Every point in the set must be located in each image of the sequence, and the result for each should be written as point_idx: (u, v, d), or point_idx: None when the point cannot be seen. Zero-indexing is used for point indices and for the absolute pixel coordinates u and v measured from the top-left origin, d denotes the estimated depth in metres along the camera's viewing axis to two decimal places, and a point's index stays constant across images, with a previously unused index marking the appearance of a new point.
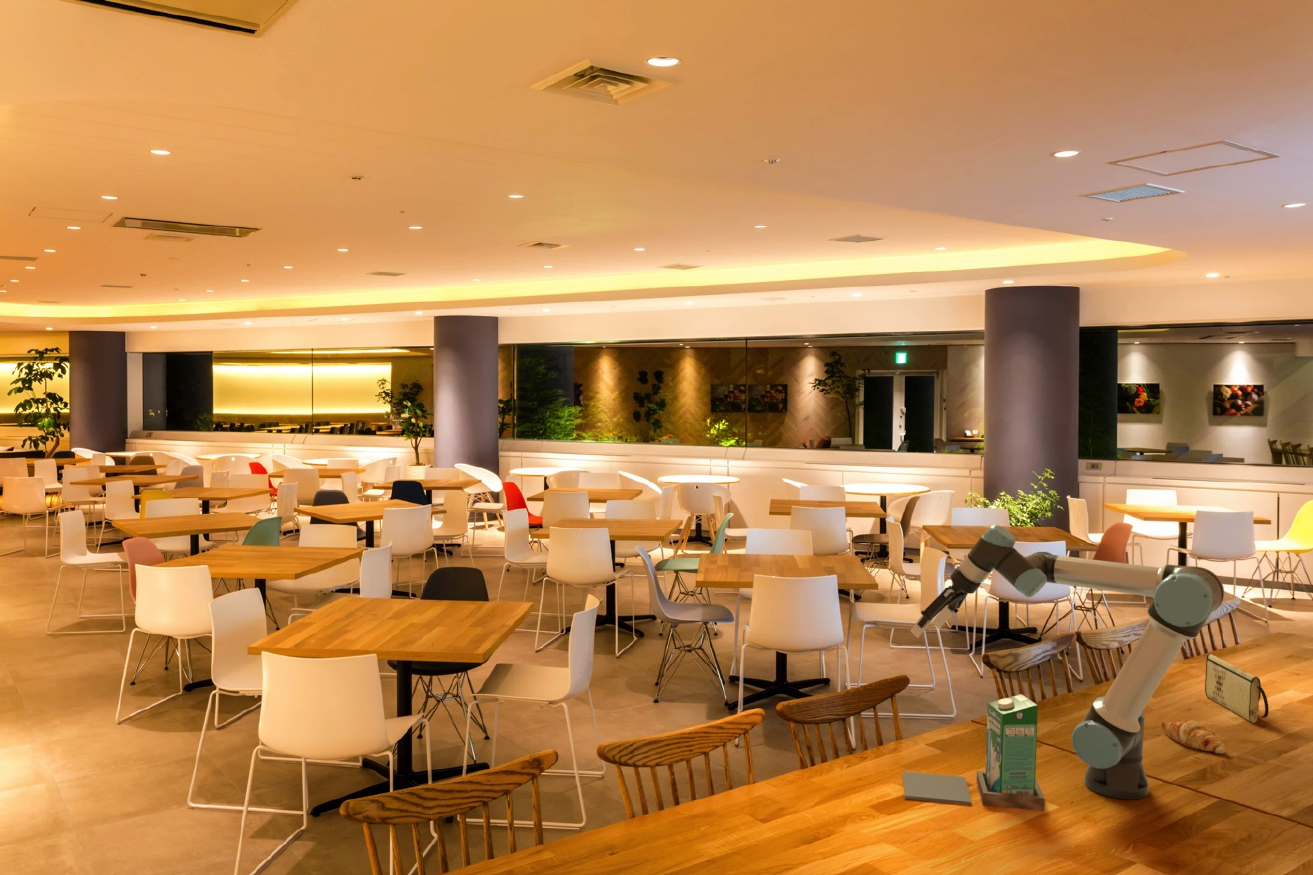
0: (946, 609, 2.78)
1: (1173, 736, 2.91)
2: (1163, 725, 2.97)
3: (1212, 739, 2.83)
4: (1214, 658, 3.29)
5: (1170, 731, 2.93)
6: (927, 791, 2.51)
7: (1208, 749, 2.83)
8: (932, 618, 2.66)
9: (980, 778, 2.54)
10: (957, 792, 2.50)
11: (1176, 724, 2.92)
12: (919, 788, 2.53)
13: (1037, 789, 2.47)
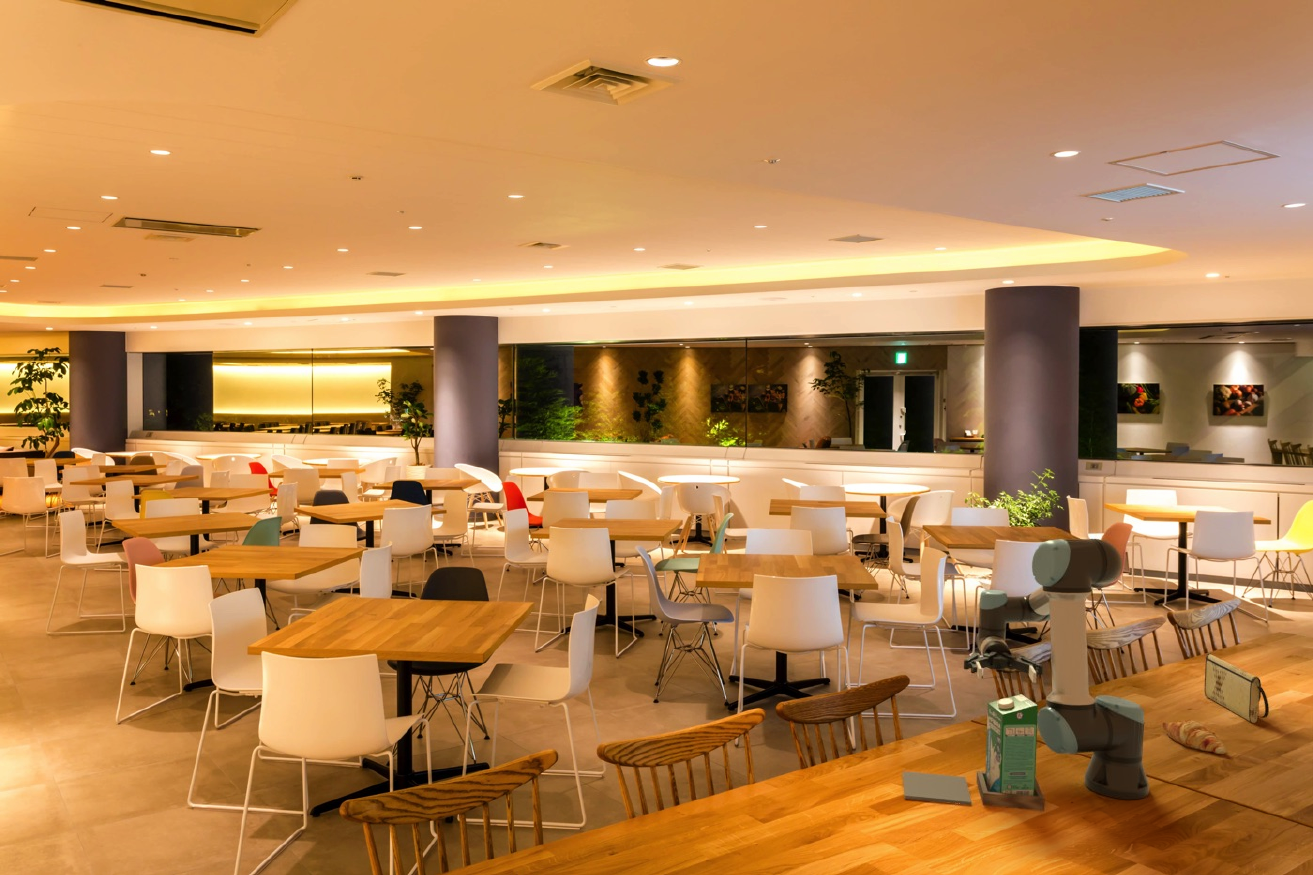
0: (1029, 672, 2.64)
1: (1173, 736, 2.91)
2: (1164, 725, 2.98)
3: (1212, 739, 2.83)
4: (1214, 658, 3.29)
5: (1171, 731, 2.93)
6: (927, 791, 2.51)
7: (1208, 749, 2.82)
8: (976, 661, 2.68)
9: (980, 778, 2.54)
10: (957, 792, 2.50)
11: (1177, 724, 2.93)
12: (919, 788, 2.53)
13: (1037, 789, 2.47)
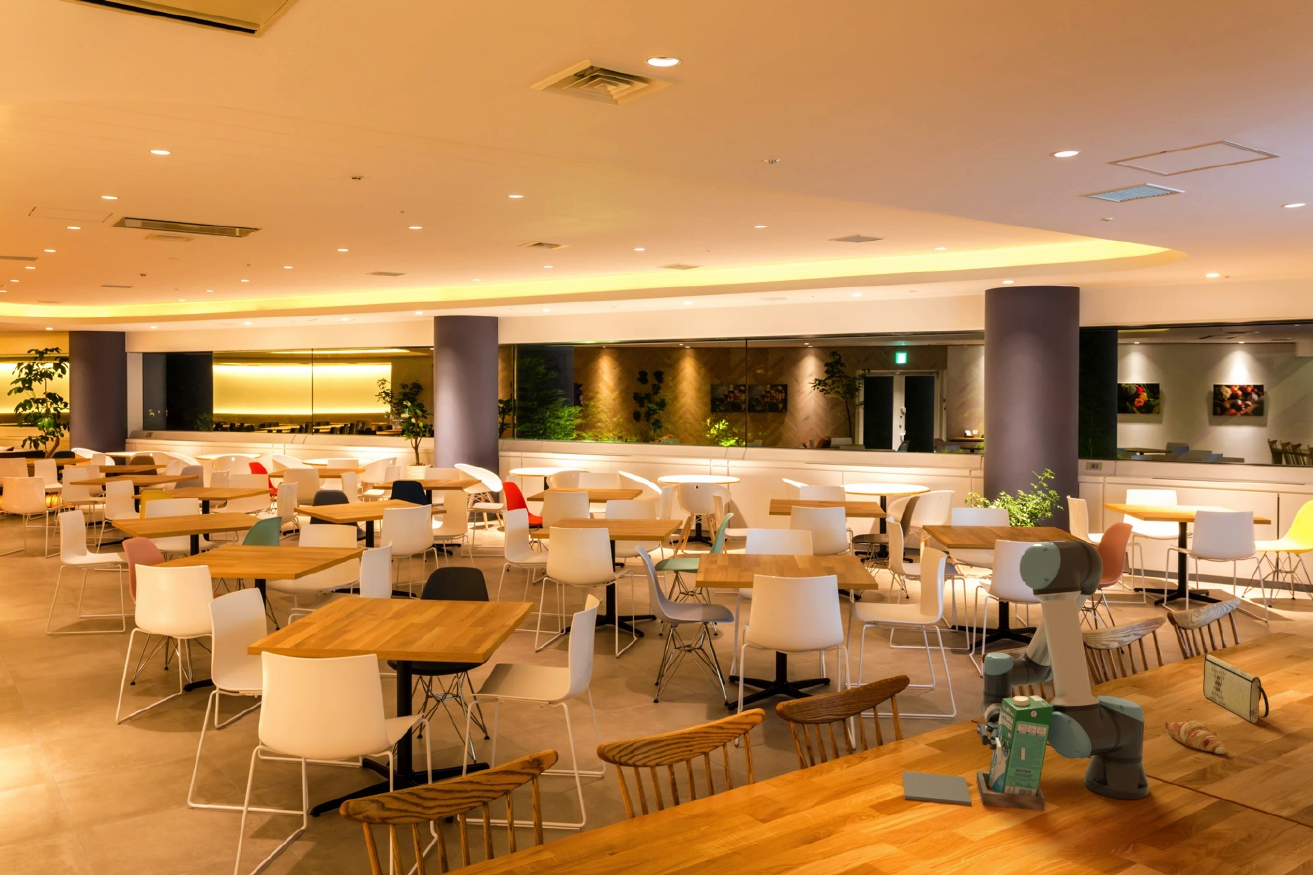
0: None
1: (1174, 736, 2.91)
2: (1166, 725, 2.98)
3: (1212, 739, 2.83)
4: (1212, 658, 3.29)
5: (1172, 731, 2.93)
6: (927, 791, 2.51)
7: (1208, 749, 2.82)
8: (995, 736, 2.53)
9: (980, 778, 2.54)
10: (957, 792, 2.50)
11: (1178, 724, 2.93)
12: (919, 788, 2.53)
13: None
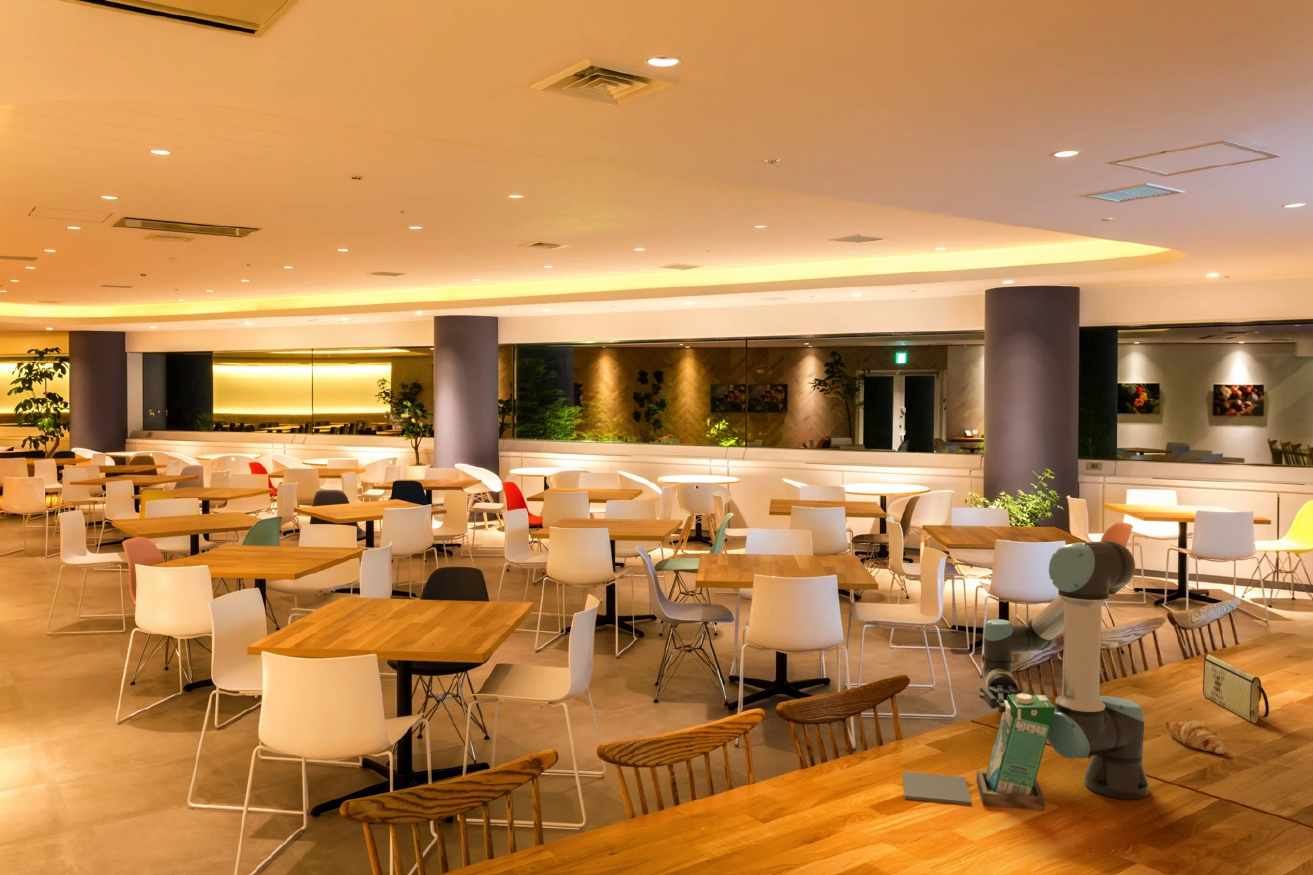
0: None
1: (1175, 735, 2.91)
2: (1167, 725, 2.98)
3: (1212, 739, 2.83)
4: (1212, 658, 3.29)
5: (1172, 730, 2.93)
6: (927, 791, 2.51)
7: (1208, 749, 2.82)
8: (1003, 699, 2.52)
9: (980, 778, 2.54)
10: (957, 792, 2.50)
11: (1179, 724, 2.93)
12: (919, 788, 2.53)
13: (1037, 789, 2.47)
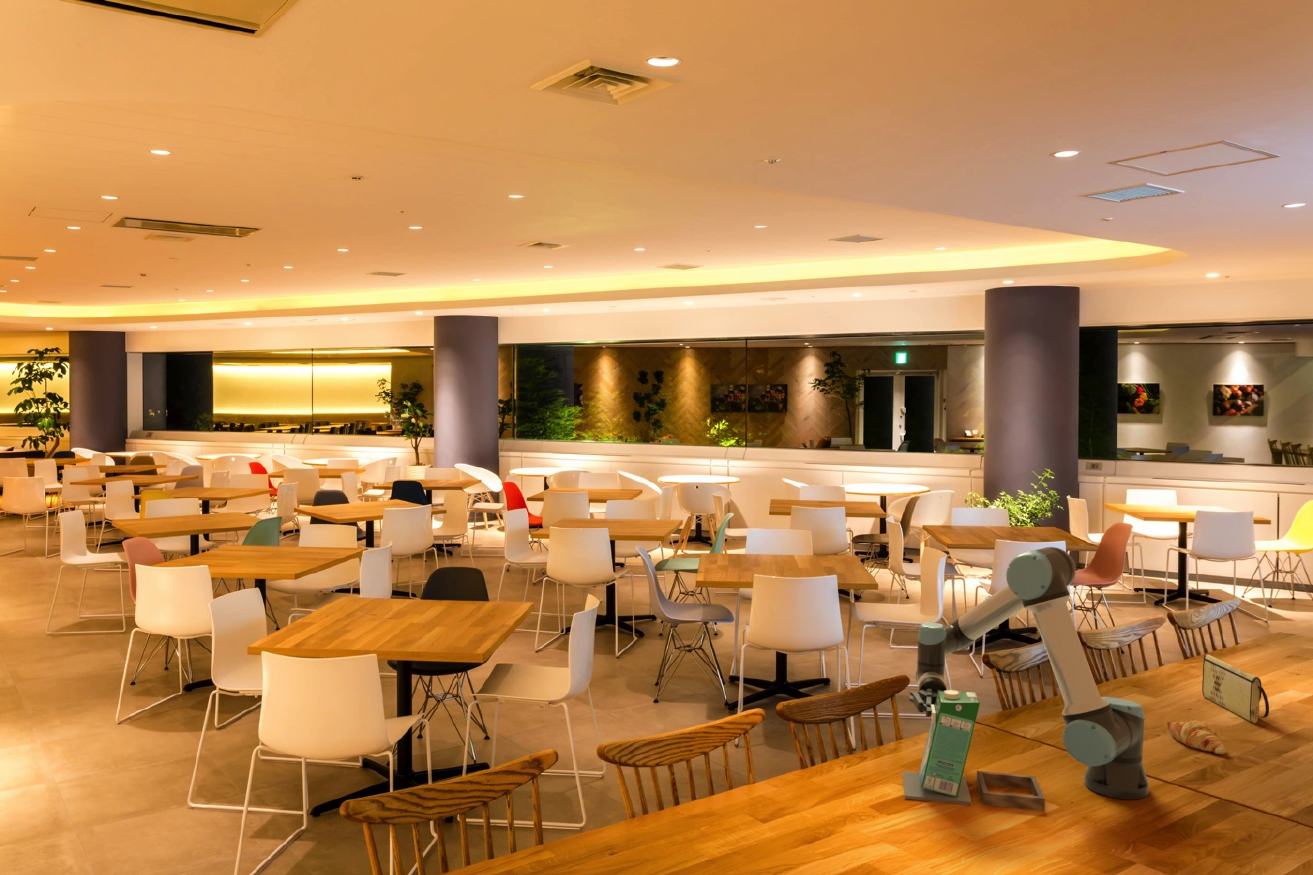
0: None
1: (1175, 735, 2.91)
2: (1168, 725, 2.98)
3: (1212, 739, 2.82)
4: (1212, 658, 3.28)
5: (1173, 730, 2.93)
6: (927, 791, 2.51)
7: (1208, 749, 2.82)
8: (930, 703, 2.56)
9: (980, 778, 2.54)
10: None
11: (1179, 724, 2.93)
12: (919, 788, 2.53)
13: (1037, 789, 2.47)
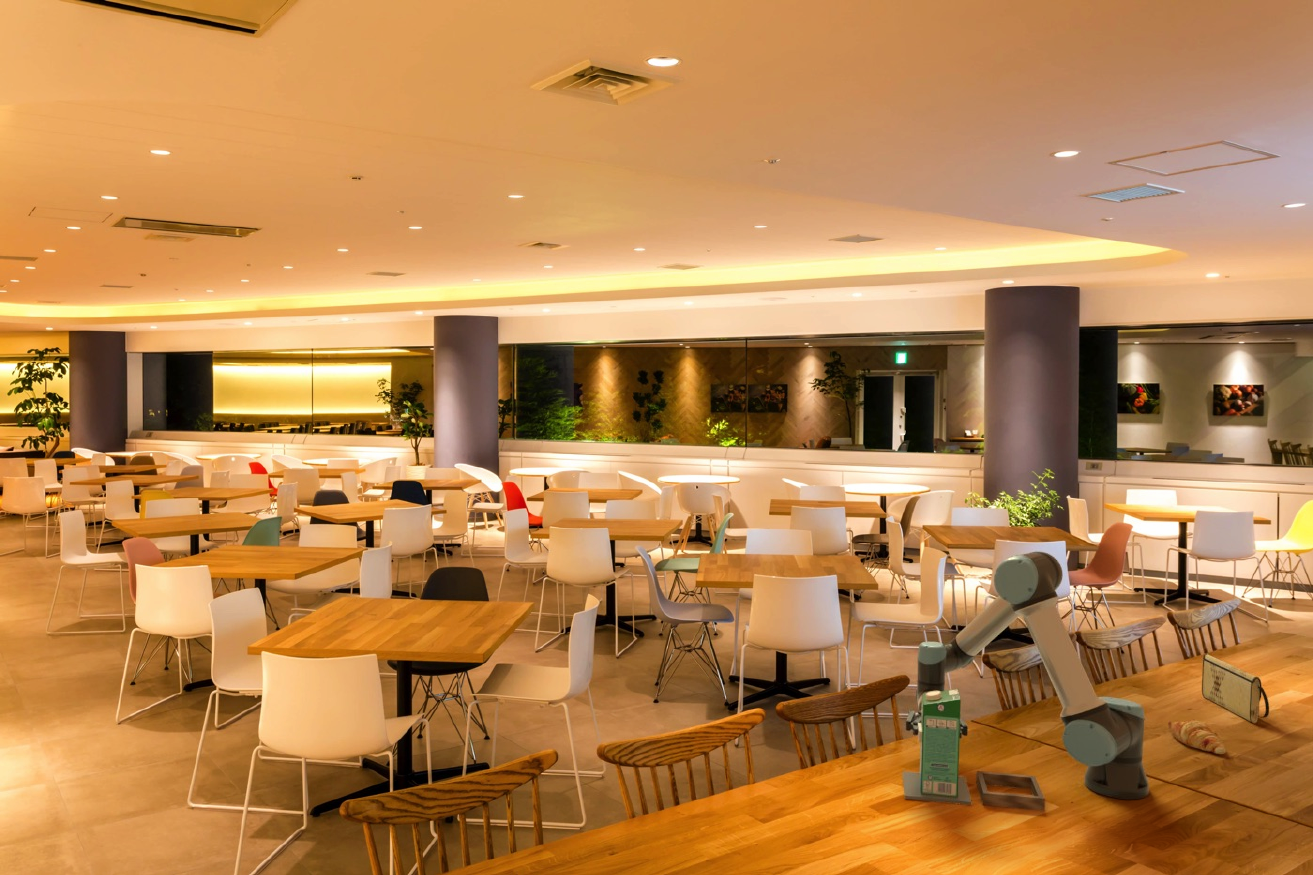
0: None
1: (1176, 735, 2.91)
2: (1169, 724, 2.98)
3: (1212, 739, 2.82)
4: (1211, 658, 3.28)
5: (1174, 730, 2.93)
6: None
7: (1208, 749, 2.82)
8: (918, 722, 2.57)
9: (980, 778, 2.54)
10: None
11: (1180, 724, 2.93)
12: (919, 788, 2.53)
13: (1037, 789, 2.47)
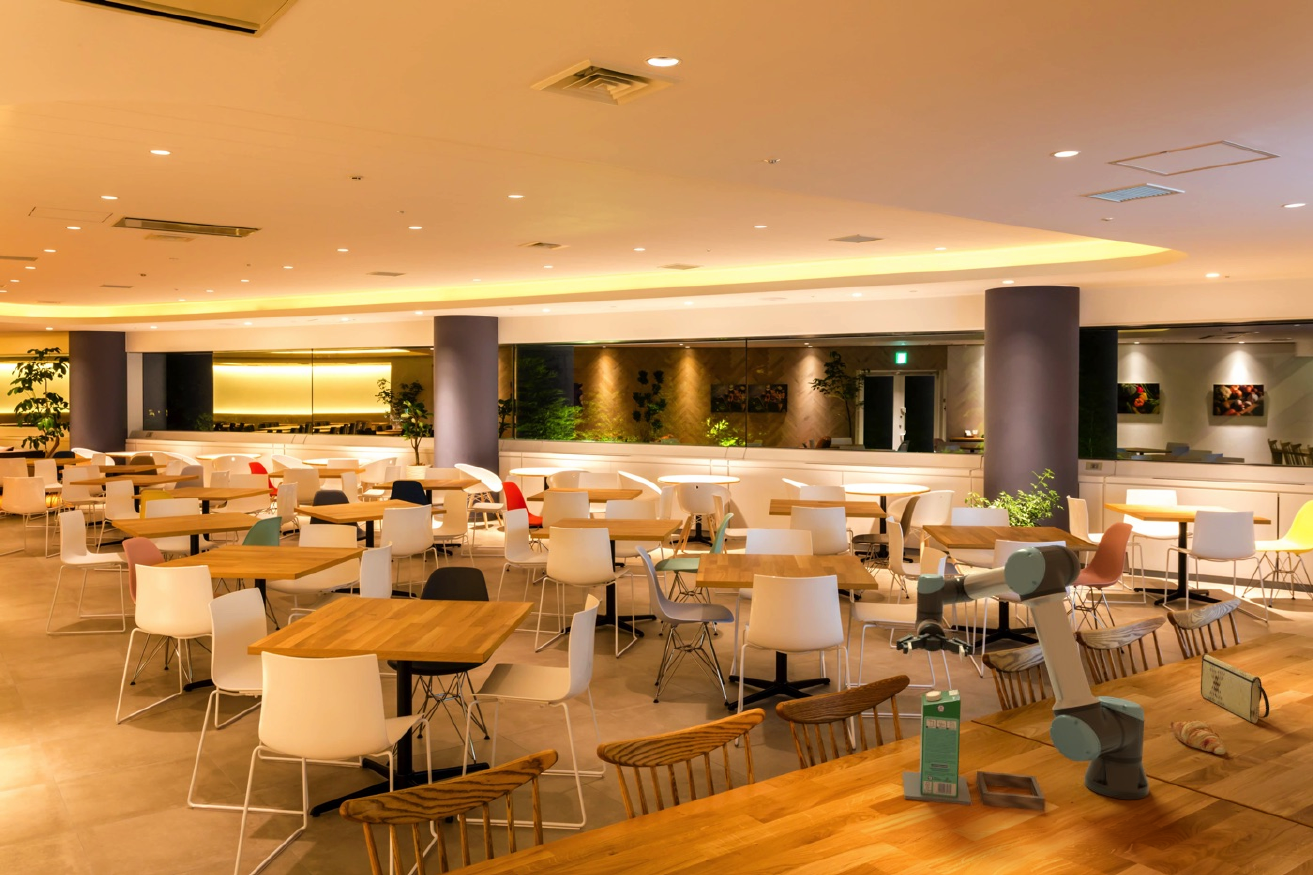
0: (959, 652, 2.67)
1: (1177, 735, 2.91)
2: (1172, 724, 2.98)
3: (1212, 740, 2.82)
4: (1210, 658, 3.28)
5: (1175, 730, 2.93)
6: None
7: (1208, 749, 2.82)
8: (908, 642, 2.71)
9: (980, 778, 2.54)
10: None
11: (1182, 724, 2.93)
12: (919, 788, 2.53)
13: (1037, 789, 2.47)
